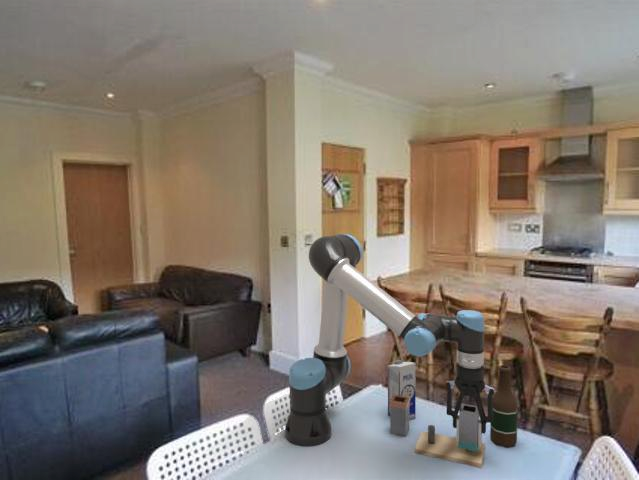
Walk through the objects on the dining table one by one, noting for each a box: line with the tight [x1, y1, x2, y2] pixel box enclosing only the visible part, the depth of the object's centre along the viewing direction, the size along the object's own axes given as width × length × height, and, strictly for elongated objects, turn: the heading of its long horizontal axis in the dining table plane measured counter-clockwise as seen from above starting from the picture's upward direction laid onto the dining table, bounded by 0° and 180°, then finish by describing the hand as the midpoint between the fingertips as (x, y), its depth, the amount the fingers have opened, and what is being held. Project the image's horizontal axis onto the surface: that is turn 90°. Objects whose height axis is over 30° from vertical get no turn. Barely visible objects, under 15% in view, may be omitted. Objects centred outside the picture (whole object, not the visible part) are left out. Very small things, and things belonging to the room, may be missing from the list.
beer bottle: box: [489, 364, 519, 449], centre depth 134 cm, size 8×8×24 cm
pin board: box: [413, 424, 486, 469], centre depth 131 cm, size 19×11×6 cm, turn 65°
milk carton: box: [387, 359, 417, 421], centre depth 151 cm, size 7×7×20 cm
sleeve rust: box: [389, 395, 410, 438], centre depth 142 cm, size 5×5×11 cm
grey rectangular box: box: [458, 403, 480, 451], centre depth 128 cm, size 5×5×11 cm
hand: (469, 440), depth 128 cm, fingers closed on grey rectangular box, 5 cm apart
